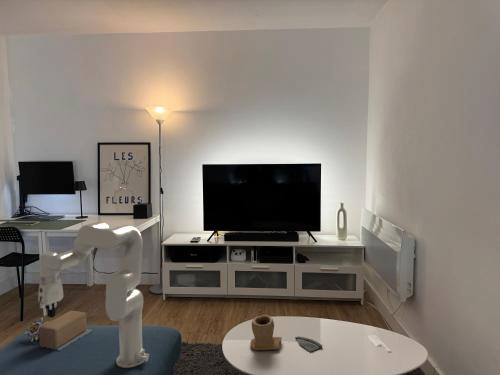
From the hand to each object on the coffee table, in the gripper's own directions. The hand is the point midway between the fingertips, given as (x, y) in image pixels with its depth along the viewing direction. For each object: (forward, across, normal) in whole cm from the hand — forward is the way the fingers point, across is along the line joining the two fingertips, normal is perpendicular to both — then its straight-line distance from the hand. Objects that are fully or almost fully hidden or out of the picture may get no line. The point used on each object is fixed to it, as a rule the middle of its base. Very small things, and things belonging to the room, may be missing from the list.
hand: (51, 316), depth 161 cm
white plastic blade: (+16, +52, -147) cm, 157 cm away
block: (+10, -3, +1) cm, 10 cm away
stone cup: (+15, +32, -97) cm, 103 cm away
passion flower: (+15, +5, +14) cm, 21 cm away
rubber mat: (+15, +9, 0) cm, 17 cm away
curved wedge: (+16, +41, -116) cm, 124 cm away
